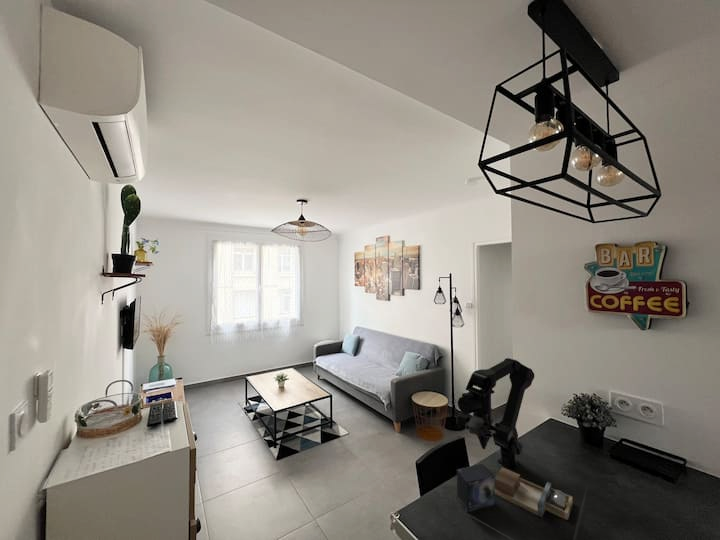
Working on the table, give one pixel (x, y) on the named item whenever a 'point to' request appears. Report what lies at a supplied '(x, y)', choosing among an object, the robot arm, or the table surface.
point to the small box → (475, 487)
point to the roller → (559, 499)
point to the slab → (507, 482)
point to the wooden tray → (537, 499)
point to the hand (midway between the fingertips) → (483, 448)
